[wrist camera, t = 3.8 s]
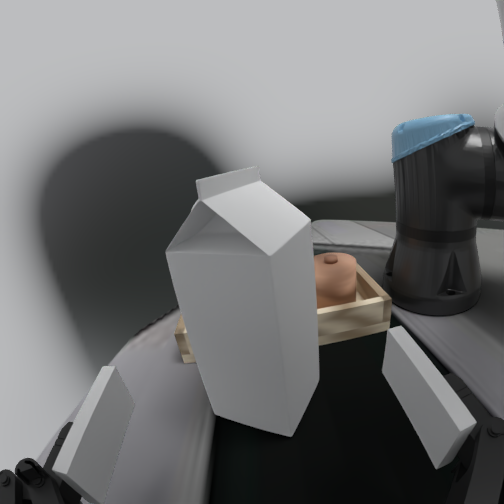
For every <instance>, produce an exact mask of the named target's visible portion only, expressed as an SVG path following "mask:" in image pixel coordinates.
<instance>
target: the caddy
mask: <svg viewBox="0 0 504 504" xmlns="http://www.w3.org/2000/svg"><path fill="white" fill-rule="evenodd" d="M314 268H315V282H316V299H317V319H318V346H319V345H324V344H329V343H334V342H339V341H344V340H348V339H353V338H357V337H361V336H366V335H370V334H374V333H378V332H382V331H386V330H388V329H389V326H390V317H391V305H392V298H391V297H390V296H389V295H388V294H387V293H386V292H385V291H384V290H383V289H382V288H381V287H380V286H379V285H378V284H377V283H376V282H375V281H374V280H373V279H372V278H371V277H370V276H369V275H368V274H367V273H366V272H365V271H364V270H363V269H362V268H361V267H360V266H359V265H358V264H357V263H356V259H355V258H354V257H353V256H351V255H348V254H344V253H324V254H319V255H316V256H314ZM174 334H175V337H176V340H177V343H178V346H179V349H180V352H181V355H182V358H183V361H184V363H195V362H196V360H195V357H194V354H193V351H192V347H191V344H190V341H189V338H188V334H187V331H186V328H185V324H184V321H183V318H182V314H181V316H180V319H179V322H178V324H177V327H176V330H175V333H174Z"/></svg>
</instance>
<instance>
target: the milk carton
mask: <svg viewBox="0 0 504 504" xmlns="http://www.w3.org/2000/svg"><path fill="white" fill-rule="evenodd" d="M196 185H197V191H198V197H199V199H198V200H197V202H196V203H195V204H194V206H193V208H192V210H191V213H190V215H189V216H188V217H187V219H186V220H185V222H184V223H183V225H182V226H181V228H180V229H179V231H178V233H177V234H176V236H175V237H174V239H173V240H172V242H171V243H170V245H169V246H168V248H167V250H166V257H167V261H168V265H169V269H170V273H171V277H172V281H173V285H174V289H175V292H176V296H177V300H178V303H179V307H180V311H181V314H182V318H183V321H184V324H185V328H186V331H187V334H188V338H189V341H190V344H191V347H192V351H193V354H194V357H195V360H196V363H197V366H198V369H199V372H200V375H201V378H202V381H203V384H204V387H205V389H206V392H207V395H208V398H209V401H210V403H211V406H212V409H213V412H214V414H215V415H218V416H221V417H224V418H227V419H229V420H233V421H236V422H239V423H242V424H245V425H248V426H252V427H255V428H259V429H262V430H266V431H269V432H273V433H277V434H281V435H285V436H289V437H291V436H292V435H293V434H294V432H295V430H296V428H297V426H298V424H299V422H300V420H301V418H302V416H303V414H304V412H305V410H306V408H307V406H308V404H309V402H310V399H311V397H312V395H313V393H314V391H315V389H316V386H317V384H318V382H319V346H318V319H317V299H316V282H315V268H314V254H313V242H312V231H311V221H310V218H308V217H307V216H306V215H305V214H303V213H302V212H301V211H299V210H298V209H297V208H296V207H294V206H293V205H292V204H291V203H289V202H288V201H287V200H285V199H284V198H283V197H281V196H280V195H279V194H278V193H276V192H275V191H274V190H272V189H271V188H270V187H268V186H267V185H266V184H264V183H263V182H262V181H261V180H260V173H259V167H258V166H255V167H250V168H246V169H241V170H237V171H233V172H228V173H224V174H220V175H215V176H212V177H207V178H204V179H199V180H196Z"/></svg>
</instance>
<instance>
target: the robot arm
mask: <svg viewBox="0 0 504 504" xmlns="http://www.w3.org/2000/svg"><path fill="white" fill-rule="evenodd" d="M496 2H497V6H498V11H499V17H500V22H501V28H502V35H503V43H504V0H496ZM474 125H475V121H474V120H473V118H472V117H471V115H468V114H449V115H438V116H431V117H426V118H420V119H415V120H411V121H408V122H404V123H401V124H399V125H398V126H396V127H395V129H394V130H393V133H392V155H393V158H392V163H393V167H394V179H395V198H396V237H395V240H394V243H393V246H392V249H391V252H390V255H389V258H388V261H387V264H386V267H385V269H384V275H383V290H384V291H385V292H386V293H387V294H388V295H389V296H390V297H391V298H392V302H394V303H395V304H397V305H398V306H400V307H402V308H405V309H407V310H410V311H413V312H417V313H421V314H427V315H451V314H456V313H460V312H463V311H466V310H468V309H469V308H471V307H472V306H474V305H475V304H476V302H477V301H478V299H479V295H480V290H481V284H482V277H481V270H480V263H479V256H478V251H477V245H476V228H477V220H478V219H484V220H495V221H504V104H503V105H501V106H500V107H499V108H498V109H497V111H496V114H495V121H494V128H491V127H475V126H474ZM382 373H383V374H384V376H385V378H386V379H387V381H388V383H389V384H390V386H391V388H392V390H393V391H394V393H395V395H396V397H397V398H398V400H399V402H400V404H401V405H402V407H403V409H404V411H405V412H406V414H407V416H408V418H409V420H410V421H411V423H412V425H413V427H414V429H415V431H416V432H417V434H418V436H419V438H420V440H421V442H422V444H423V445H424V447H425V449H426V451H427V453H428V455H429V457H430V459H431V461H432V463H433V464H434V466H435V468H436V469H438V468H441V467H443V466H445V465H447V464H448V463H450V462H452V461H453V459H454V458H455V456H456V455H457V456H458V457H459V459H460V460H459V461H458V463H457V464H456V465H455V467H454V468H453V470H452V473H454V471H455V470H456V472H455V475H454V478H453V481H452V485H451V488H450V491H449V494H448V497H447V499H446V502H445V504H504V420H503V419H501V418H498V417H494V418H492V417H491V416H490V415H489V414H488V412H487V411H486V410H485V408H484V407H483V406H482V405H481V403H480V402H479V401H478V399H477V398H476V397H475V396H474V394H472V392H471V391H470V389H469V388H467V386H466V384H465V383H464V382H463V381H462V379H461V378H459V377H457V376H456V375H454V374H452V373H450V374H448V375H445V376H442V375H441V373H440V372H439V371H438V370H437V368H436V367H435V366H434V365H433V363H432V362H431V361H430V360H429V358H428V357H427V356H426V355H425V353H424V352H423V351H422V350H421V348H420V347H419V346H418V345H417V344H416V342H415V341H414V340H413V339H412V338H411V336H410V335H409V334H408V333H407V332H406V330H405V329H404V328H403V327H402V326H398V327H394V328H391V329H388V331H387V340H386V348H385V355H384V362H383V369H382ZM134 406H135V403H134V401H133V399H132V397H131V395H130V394H129V392H128V390H127V388H126V386H125V384H124V382H123V380H122V378H121V376H120V374H119V372H118V370H117V368H116V366H103V367H102V369H101V371H100V373H99V374H98V376H97V378H96V380H95V382H94V384H93V385H92V387H91V389H90V391H89V393H88V395H87V397H86V399H85V401H84V403H83V405H82V407H81V409H80V411H79V413H78V415H77V417H76V419H75V421H74V423H73V422H68V423H67V424H66V425H65V426H64V427H63V428H62V430H61V432H60V434H59V436H58V439H57V440H56V442H55V446H53V448H52V450H51V452H50V454H49V456H48V459H47V461H46V463H45V465H44V467H43V468H42V467H41V466H40V465H39V464H38V463H37V462H36V461H35V460H33V459H31V458H25V459H23V460H21V461H20V462H19V463H18V464H17V465H16V468H15V474H16V475H17V476H16V475H15V474H14V473H13V472H12V471H10V470H6V469H5V470H2V471H1V472H0V504H82V502H81V501H80V500H81V497H83V498H84V499H85V500H87V501H88V502H90V503H94V504H104V502H105V499H106V495H107V491H108V488H109V484H110V481H111V478H112V474H113V471H114V468H115V464H116V461H117V458H118V455H119V451H120V448H121V445H122V442H123V439H124V436H125V433H126V430H127V427H128V424H129V421H130V418H131V415H132V412H133V409H134Z"/></svg>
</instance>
